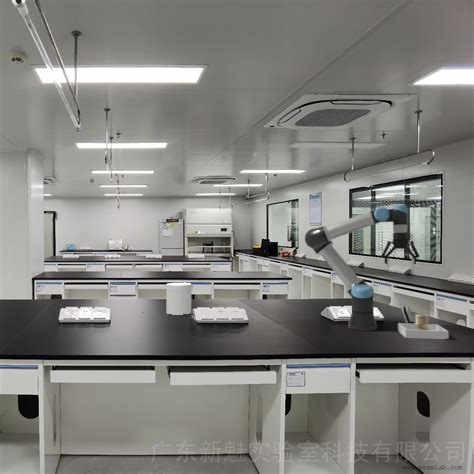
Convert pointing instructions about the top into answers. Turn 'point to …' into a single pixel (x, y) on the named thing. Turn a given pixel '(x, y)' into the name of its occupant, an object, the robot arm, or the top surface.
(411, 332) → the tray
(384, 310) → the top surface
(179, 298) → the canister
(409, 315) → the hinge
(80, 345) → the top surface
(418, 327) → the tan cylinder
